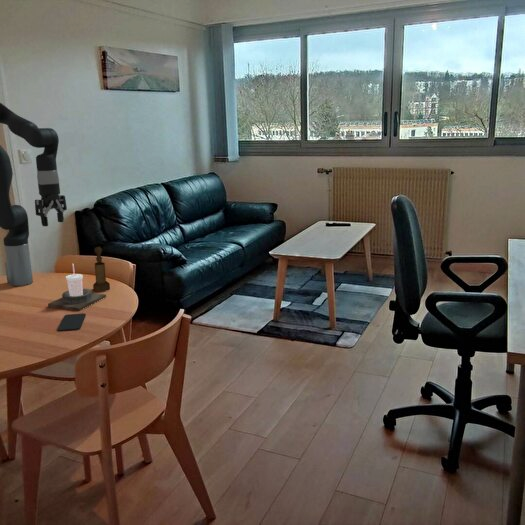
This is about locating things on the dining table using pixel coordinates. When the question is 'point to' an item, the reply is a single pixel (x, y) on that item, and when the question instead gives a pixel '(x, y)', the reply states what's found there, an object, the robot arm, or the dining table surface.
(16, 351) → the dining table surface
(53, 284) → the dining table surface
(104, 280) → the pepper mill
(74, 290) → the beverage cup
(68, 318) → the phone
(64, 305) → the ring holder
